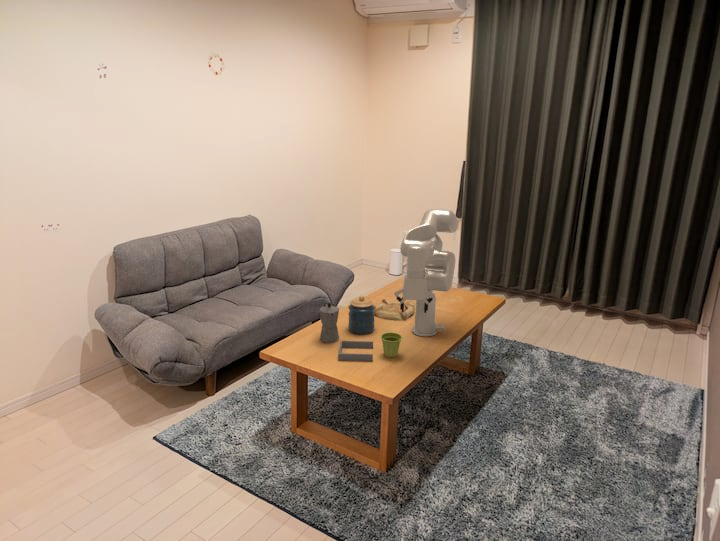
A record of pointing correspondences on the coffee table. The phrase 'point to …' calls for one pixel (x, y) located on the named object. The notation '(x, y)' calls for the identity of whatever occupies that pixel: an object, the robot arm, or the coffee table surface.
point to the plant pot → (391, 343)
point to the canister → (361, 316)
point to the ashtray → (393, 310)
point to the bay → (355, 356)
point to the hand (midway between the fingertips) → (413, 311)
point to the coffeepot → (329, 323)
